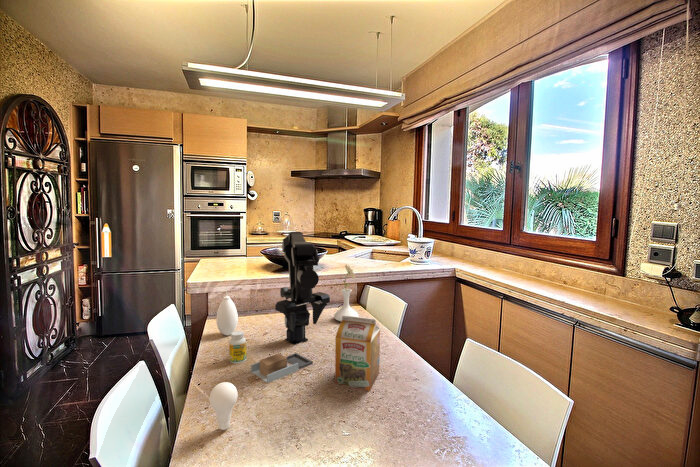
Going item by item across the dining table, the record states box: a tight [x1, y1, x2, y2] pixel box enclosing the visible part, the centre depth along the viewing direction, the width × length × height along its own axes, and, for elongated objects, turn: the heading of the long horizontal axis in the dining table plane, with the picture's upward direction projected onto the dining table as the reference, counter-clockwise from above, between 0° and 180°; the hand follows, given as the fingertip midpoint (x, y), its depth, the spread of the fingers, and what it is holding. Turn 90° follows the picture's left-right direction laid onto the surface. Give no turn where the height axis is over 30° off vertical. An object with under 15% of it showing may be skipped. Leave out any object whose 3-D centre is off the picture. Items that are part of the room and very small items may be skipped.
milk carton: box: [334, 315, 381, 392], centre depth 102 cm, size 11×11×19 cm
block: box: [259, 352, 288, 377], centre depth 106 cm, size 7×4×4 cm, turn 136°
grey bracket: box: [250, 353, 299, 384], centre depth 106 cm, size 11×10×2 cm
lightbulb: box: [208, 381, 239, 431], centre depth 79 cm, size 6×6×11 cm
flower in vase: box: [333, 264, 360, 322], centre depth 154 cm, size 13×11×25 cm
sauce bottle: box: [216, 290, 239, 336], centre depth 135 cm, size 8×8×18 cm
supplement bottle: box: [228, 330, 248, 365], centre depth 113 cm, size 5×5×10 cm
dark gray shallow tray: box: [285, 352, 314, 370], centre depth 113 cm, size 5×9×1 cm, turn 46°
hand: (303, 327), depth 114 cm, fingers open, 9 cm apart
